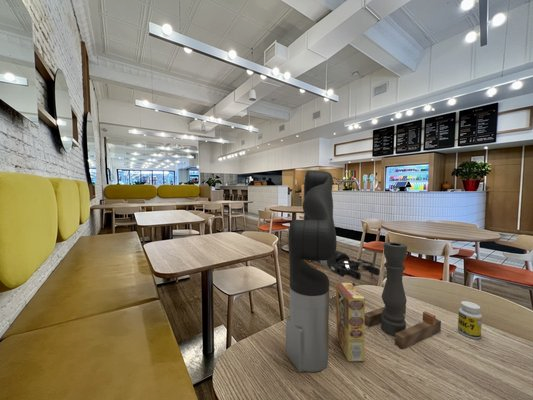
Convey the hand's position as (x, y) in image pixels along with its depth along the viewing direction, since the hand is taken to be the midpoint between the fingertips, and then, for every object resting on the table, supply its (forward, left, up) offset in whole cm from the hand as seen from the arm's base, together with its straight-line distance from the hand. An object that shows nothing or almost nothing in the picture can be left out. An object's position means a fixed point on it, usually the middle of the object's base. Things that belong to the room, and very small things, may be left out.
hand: (369, 274), depth 70 cm
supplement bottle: (+18, -18, -14) cm, 29 cm away
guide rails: (+4, -8, -14) cm, 16 cm away
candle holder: (0, -8, -14) cm, 16 cm away
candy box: (-17, -8, -14) cm, 23 cm away
